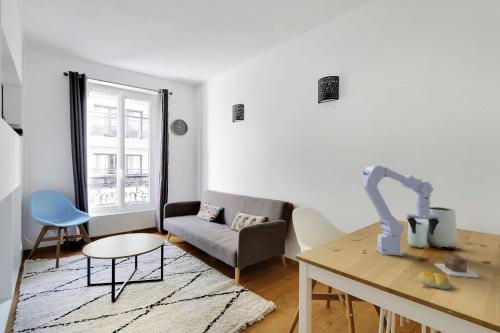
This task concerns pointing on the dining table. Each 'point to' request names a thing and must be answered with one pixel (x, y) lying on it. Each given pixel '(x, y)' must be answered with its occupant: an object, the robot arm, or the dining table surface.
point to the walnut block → (456, 263)
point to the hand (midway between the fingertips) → (422, 233)
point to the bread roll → (434, 280)
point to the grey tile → (453, 273)
